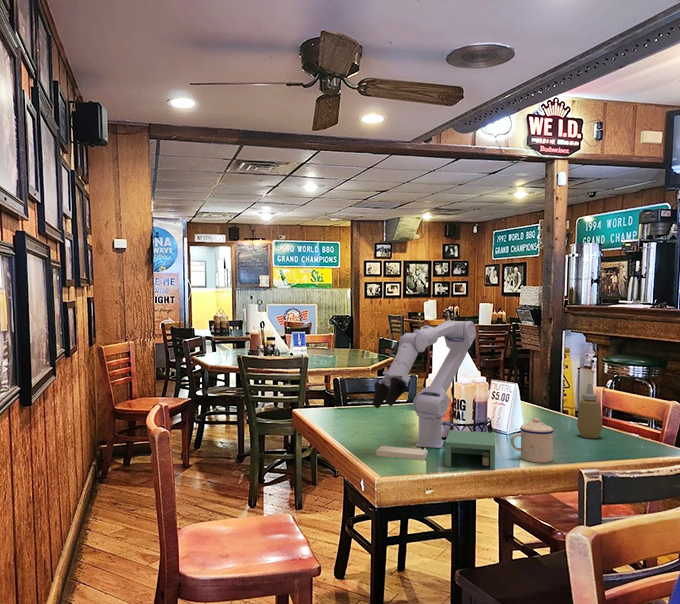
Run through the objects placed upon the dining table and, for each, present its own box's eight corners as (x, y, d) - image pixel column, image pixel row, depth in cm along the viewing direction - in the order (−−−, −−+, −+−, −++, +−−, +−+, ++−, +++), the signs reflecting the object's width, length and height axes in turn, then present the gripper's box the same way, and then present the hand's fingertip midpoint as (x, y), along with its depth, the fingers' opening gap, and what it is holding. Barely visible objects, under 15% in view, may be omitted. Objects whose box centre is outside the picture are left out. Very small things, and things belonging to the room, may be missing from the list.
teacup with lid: (546, 454, 164) (546, 415, 164) (558, 463, 155) (558, 421, 155) (505, 454, 164) (506, 415, 164) (516, 463, 154) (516, 421, 155)
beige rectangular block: (381, 452, 167) (382, 445, 167) (427, 456, 162) (427, 450, 162) (376, 457, 162) (376, 450, 162) (423, 462, 157) (423, 455, 157)
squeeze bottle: (571, 435, 189) (571, 383, 189) (587, 433, 193) (587, 381, 193) (591, 440, 182) (592, 386, 182) (608, 438, 185) (608, 384, 186)
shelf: (449, 451, 167) (449, 429, 167) (494, 454, 163) (494, 432, 163) (444, 465, 151) (445, 442, 151) (494, 469, 148) (494, 445, 148)
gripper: (378, 362, 170) (359, 400, 164) (403, 354, 158) (383, 394, 152) (396, 375, 172) (377, 413, 166) (422, 368, 159) (403, 409, 153)
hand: (381, 405), depth 159 cm, fingers open, 7 cm apart
